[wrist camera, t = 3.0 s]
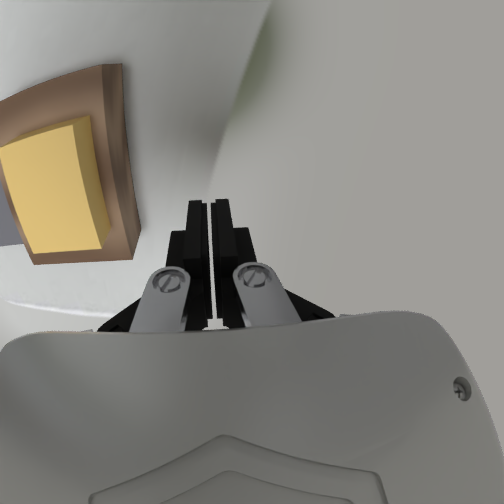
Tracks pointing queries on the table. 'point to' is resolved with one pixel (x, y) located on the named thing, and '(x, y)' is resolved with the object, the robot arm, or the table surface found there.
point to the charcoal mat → (7, 223)
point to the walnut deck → (105, 146)
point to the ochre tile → (57, 187)
